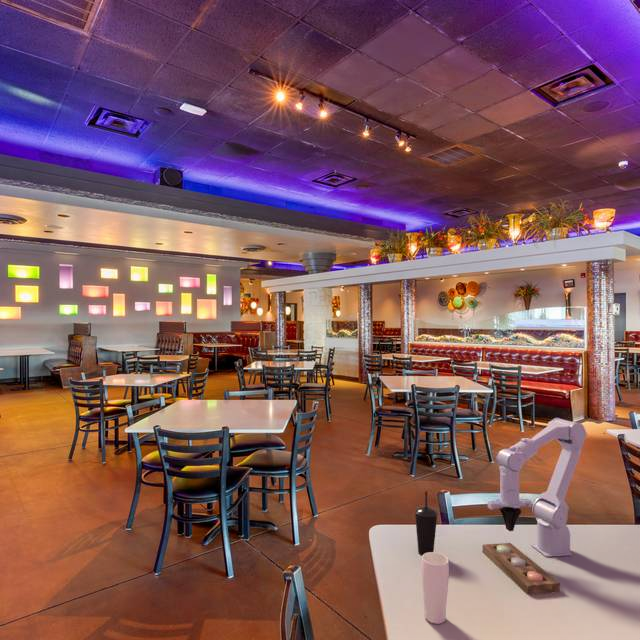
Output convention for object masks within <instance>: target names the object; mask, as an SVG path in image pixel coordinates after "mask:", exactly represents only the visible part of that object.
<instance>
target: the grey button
mask: <svg viewBox="0 0 640 640" xmlns="http://www.w3.org/2000/svg"><path fill="white" fill-rule="evenodd" d="M511 564H513V565H514V566H515V567H524V566H525V561H524V560H523V559H521V558H517V557H514V558H511Z"/></svg>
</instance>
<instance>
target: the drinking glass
mask: <svg viewBox="0 0 640 640" xmlns="http://www.w3.org/2000/svg"><path fill="white" fill-rule="evenodd" d="M449 579H450V562H449V558H448V557H447V556H446V555H444V554H442V553H439V552H436V551H434V552H428V553H425V554H423V556H422V555H421V584H422V597H423V598H422V599H423V617H424V618H425V619H427V621H428V622H429V621H430V622H429V623H431V624H434V623H435V625H439V624H440V623H441V624H443V623H444V622H445V620H446V617H447V615H446V613H447V599H448V592H449V591H448V590H449V583H450V582H449V581H450V580H449Z"/></svg>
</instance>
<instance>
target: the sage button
mask: <svg viewBox="0 0 640 640" xmlns="http://www.w3.org/2000/svg"><path fill="white" fill-rule="evenodd" d="M497 551H498V552H499V553H500V554H506V553H510V548H509V547H507V546H504V545H498V546H497Z"/></svg>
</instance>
